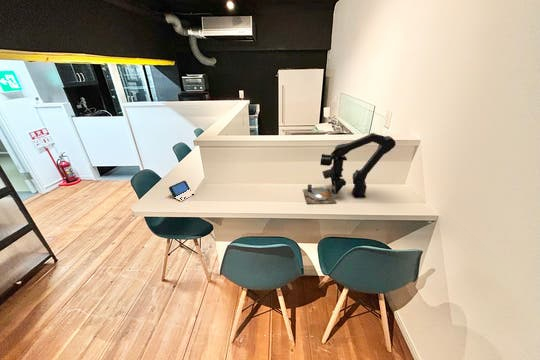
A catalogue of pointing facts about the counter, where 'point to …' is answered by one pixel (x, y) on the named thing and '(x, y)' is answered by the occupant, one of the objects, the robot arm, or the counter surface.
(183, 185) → the handheld game console
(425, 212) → the counter surface
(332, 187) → the roller
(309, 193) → the sprocket
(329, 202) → the sprocket base
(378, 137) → the robot arm
